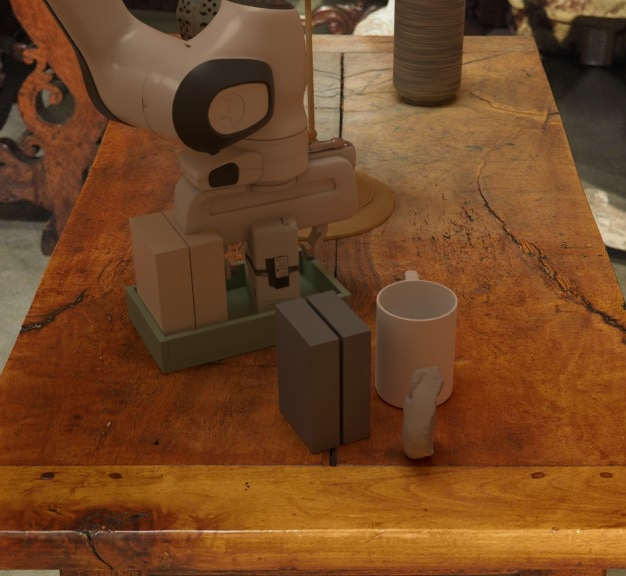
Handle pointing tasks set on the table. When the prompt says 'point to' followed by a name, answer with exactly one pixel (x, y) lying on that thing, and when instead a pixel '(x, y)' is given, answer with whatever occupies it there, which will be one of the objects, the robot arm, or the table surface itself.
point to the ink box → (272, 263)
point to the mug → (414, 335)
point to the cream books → (178, 273)
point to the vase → (428, 50)
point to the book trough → (229, 336)
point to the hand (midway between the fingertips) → (270, 267)
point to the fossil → (421, 412)
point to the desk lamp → (370, 191)
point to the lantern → (195, 16)
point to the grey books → (323, 370)
